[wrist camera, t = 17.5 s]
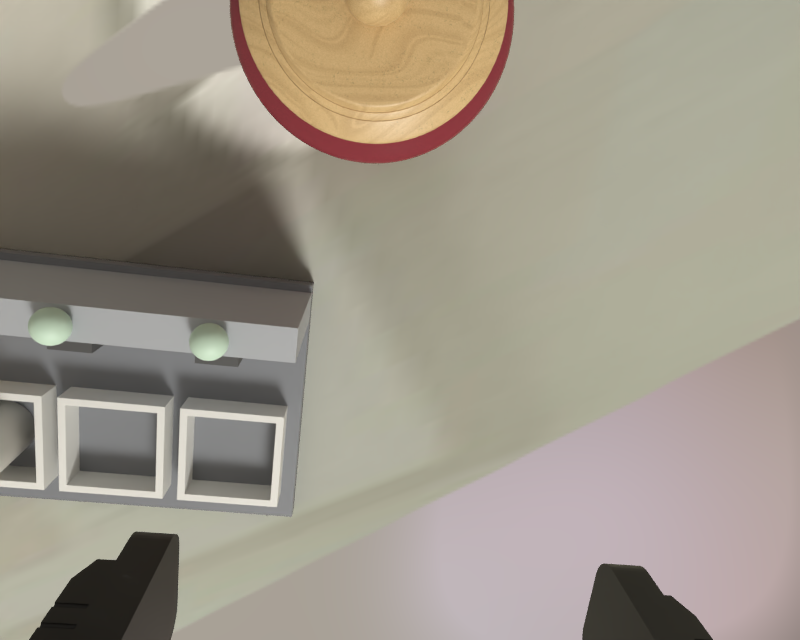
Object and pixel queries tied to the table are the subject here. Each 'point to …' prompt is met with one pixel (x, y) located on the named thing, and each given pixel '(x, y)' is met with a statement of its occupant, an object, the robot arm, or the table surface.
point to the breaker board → (153, 383)
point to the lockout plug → (14, 431)
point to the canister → (373, 69)
